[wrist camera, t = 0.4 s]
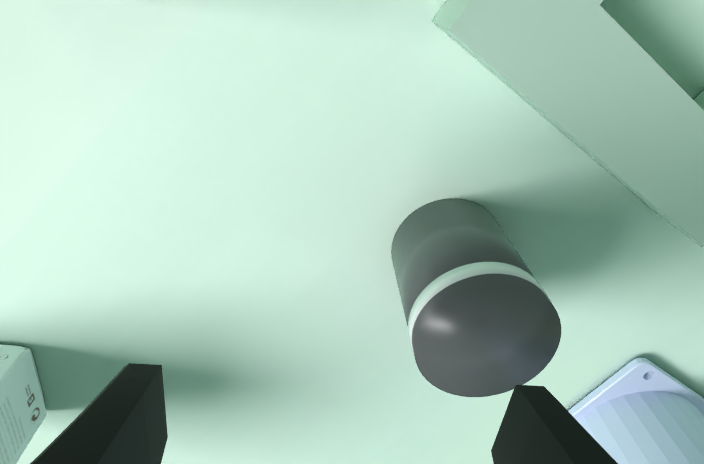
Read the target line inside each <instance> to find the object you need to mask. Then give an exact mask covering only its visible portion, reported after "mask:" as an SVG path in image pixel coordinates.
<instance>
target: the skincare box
mask: <svg viewBox="0 0 704 464" xmlns="http://www.w3.org/2000/svg"><path fill="white" fill-rule="evenodd" d="M45 416H46V409H45V404H44V399H43V394H42V389H41V386H40V382H39V378H38V373H37V369H36V366H35V362H34V359H33V356H32V352H31V350H30V349H29V348H25V347H21V346H12V345H0V464H16V463H17V461H18V460H19V458H20V456H21V454H22V453H23V451H24V450H25V448H26V447H27V445H28V443H29V442H30V440H31V439H32V437H33V435H34V434H35V432H36V431H37V429H38V427H39V426H40V424H41V423H42V421H43V420H44V418H45Z"/></svg>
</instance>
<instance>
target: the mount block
mask: <svg viewBox="0 0 704 464" xmlns="http://www.w3.org/2000/svg"><path fill="white" fill-rule="evenodd" d="M603 1H604V0H447V1H446V2H445V4H444V5H443V6H442V8H441V9H440V10H439V12H438V13H437V14H436V16H435V17H434V18H433V20H432V22H434V23H435V24H436V25H437V26H438V27H439V28H441V29H442V30H443V31H444V32H445V33H446V34H448V35H449V36H450V37H451V38H452V39H453V40H455V41H456V42H457V43H458V44H459V45H461V46H462V47H463V48H464V49H465V50H466V51H468V52H469V53H470V54H471V55H472V56H473V57H475V58H476V59H477V60H478V61H479V62H480V63H482V64H483V65H484V66H485V67H486V68H487V69H489V70H490V71H491V72H492V73H493V74H495V75H496V76H497V77H498V78H499V79H500V80H502V81H503V82H504V83H505V84H506V85H507V86H509V87H510V88H511V89H512V90H513V91H514V92H516V93H517V94H518V95H519V96H520V97H522V98H523V99H524V100H525V101H526V102H527V103H529V104H530V105H531V106H532V107H533V108H534V109H536V110H537V111H538V112H539V113H540V114H541V115H543V116H544V117H545V118H546V119H547V120H548V121H550V122H551V123H552V124H553V125H554V126H556V127H557V128H558V129H559V130H560V131H561V132H563V133H564V134H565V135H566V136H567V137H568V138H570V139H571V140H572V141H573V142H574V143H575V144H577V145H578V146H579V147H580V148H581V149H583V150H584V151H585V152H586V153H587V154H588V155H590V156H591V157H592V158H593V159H594V160H595V161H597V162H598V163H599V164H600V165H601V166H602V167H604V168H605V169H606V170H607V171H608V172H610V173H611V174H612V175H613V176H614V177H615V178H617V179H618V180H619V181H620V182H621V183H622V184H624V185H625V186H626V187H627V188H628V189H629V190H631V191H632V192H633V193H634V194H635V195H636V196H638V197H639V198H640V199H641V200H642V201H644V202H645V203H646V204H647V205H648V206H649V207H651V208H652V209H653V210H654V211H655V212H656V213H658V214H659V215H660V216H661V217H663V218H664V219H665V220H667V221H668V222H669V223H671V224H672V225H673V226H675V227H676V228H677V229H679V230H680V231H681V232H683V233H684V234H685V235H687V236H688V237H689V238H691V239H692V240H693V241H695V242H696V243H697V244H699V245H700V246H701V247H703V246H704V90H703V91H702V92H701V93H700V94H699V95H698V96H697V97H696V98H695V99H694V100H693V99H692V98H691V97H690V96H689V95H688V94H687V93H686V92H685V91H684V90H683V89H682V88H681V87H680V86H679V85H678V84H677V83H676V82H675V81H674V80H673V79H672V78H671V77H670V76H669V75H668V74H667V73H666V72H665V71H664V70H663V69H662V68H661V67H660V66H659V65H658V63H657V62H656V61H655V60H654V59H653V58H652V57H651V56H650V55H649V54H648V53H647V52H646V51H645V50H644V49H643V48H642V47H641V46H640V45H639V44H638V43H637V42H636V41H635V40H634V39H633V38H632V37H631V36H630V35H629V34H628V33H627V32H626V31H625V30H624V29H623V28H622V27H621V26H620V25H619V24H618V23H617V22H616V21H615V20H614V19H613V18H612V17H611V16H610V15H609V14H608V13H607V12H606V11H605V10H604V9H603V8H602V7H601V6H600V4H601V3H602V2H603Z"/></svg>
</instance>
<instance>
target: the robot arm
mask: <svg viewBox="0 0 704 464" xmlns="http://www.w3.org/2000/svg"><path fill="white" fill-rule="evenodd" d="M166 441H167V425H166V413H165V401H164V389H163V377H162V365H149V364H131V363H129V364H128V365H127V366H125V367H124V368H123V369H122V370H121V371H120V372H119V373H118V374H117V376H116V377H115V378H114V379H113V380H112V381H111V382H110V383H109V384H108V385H107V386H106V387H105V388H104V390H103V391H102V392H101V393H100V394H99V395H98V396H97V397H96V398H95V399H94V400H93V401H92V402H91V403H90V404H89V405H88V407H87V408H86V409H85V410H84V411H83V412H82V413H81V414H80V415H79V416H78V417H77V418H76V419H75V420H74V421H73V422H72V423H71V424H70V425H69V426H68V427H67V428H66V429H65V430H64V431H63V432H62V433H61V434H60V435H59V436H58V437H57V438H56V439H55V440H54V441H53V442H52V443H51V444H50V445H49V446H48V447H47V448H46V449H45V450H44V451H43V452H42V453H41V454H40V455H39V456H38V457H37V458H36V459H35V460H34V461H33V462H31V463H30V464H161V461H162V457H163V453H164V449H165V445H166ZM491 452H492V457H493V462H494V464H704V398H703V397H702V396H700V395H699V394H697V393H696V392H694V391H693V390H691V389H690V388H688V387H687V386H686V385H684V384H683V383H681V382H680V381H678V380H677V379H675V378H674V377H672V376H671V375H670V374H668V373H667V372H665V371H664V370H662V369H661V368H659V367H658V366H656V365H655V364H653V363H652V362H651V361H649V360H648V359H646V358H636V359H634V360H632V361H631V362H629V363H628V364H627V365H626V366H624V367H623V368H622V369H620V370H619V371H618V372H617V373H615V374H614V375H613V376H612V377H610V378H609V379H608V380H606V381H605V382H604V383H603V384H601V385H600V386H599V387H598V388H596V389H595V390H594V391H592V392H591V393H590V394H589V395H587V396H586V397H585V398H584V399H582V400H581V401H580V402H578V403H577V404H576V405H575V406H573V407H572V408H571V409H570V410H568V411H567V410H566V409H565V408H564V406H563V405H562V404H561V403H560V402H559V401H558V400H557V399H556V398H555V397H554V396H553V395H552V394H551V393H550V392H549V391H548V390H547V389H546V388H545V387H544V386H527V385H516V386H515V388H514V391H513V394H512V396H511V399H510V402H509V405H508V407H507V410H506V413H505V415H504V418H503V421H502V423H501V426H500V429H499V431H498V434H497V437H496V439H495V442H494V445H493V447H492V450H491Z"/></svg>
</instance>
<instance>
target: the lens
mask: <svg viewBox="0 0 704 464" xmlns="http://www.w3.org/2000/svg"><path fill="white" fill-rule="evenodd" d="M391 254H392V261H393V266H394V270H395V274H396V279H397V283H398V287H399V291H400V296H401V300H402V304H403V309H404V313H405V317H406V321H407V326H408V332H409V337H410V341H411V346H412V350H413V353H414V356H415V360H416V363H417V366H418V368H419V370H420V372H421V373H422V375H423V376H424V377H425V378H426V380H427V381H429V382H430V383H431V384H432V385H434V386H435V387H437V388H439V389H440V390H443V391H445V392H447V393H451V394H454V395H459V396H465V397H484V396H491V395H497V394H500V393H504V392H507V391H510V390H512V389H514V388H515V386H516V385H523V384H525V383H526V382H528V381H529V380H531V379H532V378H534V377H535V376H536V375H538V374H539V373H540V372H541V371H542V370H543V369H544V368H545V367H546V366H547V364H548V363H549V362H550V361H551V359H552V358H553V356H554V354H555V352H556V350H557V348H558V345H559V342H560V337H561V323H560V318H559V316H558V313H557V311H556V310H555V308H554V306H553V305H552V303H551V301H550V299H549V298H548V296H547V295H546V293H545V292H544V290H543V289H542V287H541V286H540V284H539V283H538V282H537V281H536V279H535V278H534V276H533V275H532V274H531V272H530V271H529V269H528V268H527V266H526V265H525V263H524V262H523V260H522V259H521V257H520V256H519V254H518V253H517V251H516V250H515V248H514V247H513V245H512V244H511V242H510V241H509V239H508V238H507V236H506V235H505V233H504V232H503V230H502V229H501V227H500V226H499V224H498V223H497V221H496V220H495V218H494V217H493V216H492V215H491V213H490V212H489V211H487V210H486V209H485V208H484V207H482V206H480V205H479V204H476V203H474V202H471V201H468V200H463V199H442V200H438V201H434V202H431V203H428V204H426V205H424V206H422V207H420V208H418V209H417V210H415V211H414V212H413V213H411V214H410V215H409V216H408V217H407V218H406V219H405V220H404V221H403V222H402V224H401V225H400V226H399V228H398V230H397V232H396V234H395V236H394V239H393V243H392V250H391Z"/></svg>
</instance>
